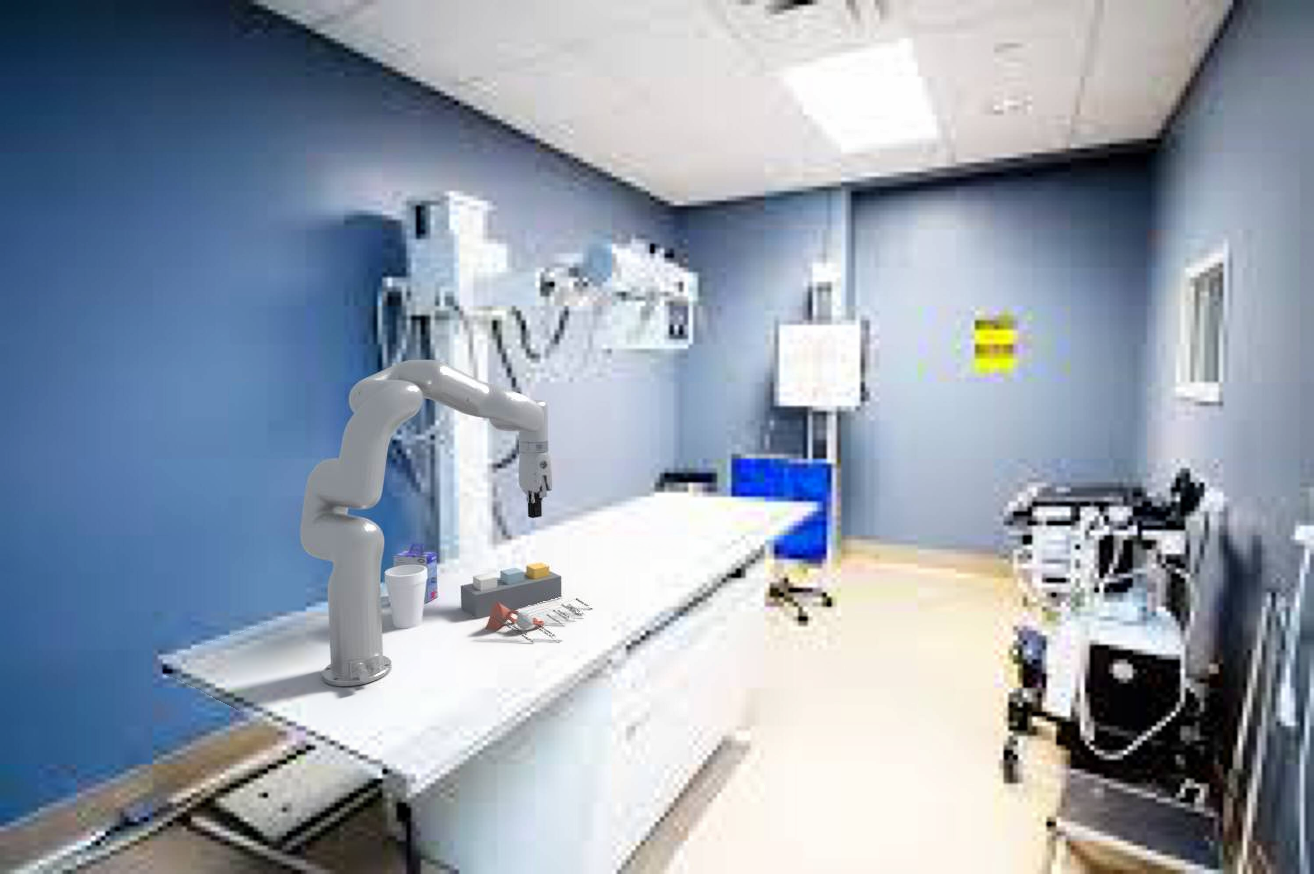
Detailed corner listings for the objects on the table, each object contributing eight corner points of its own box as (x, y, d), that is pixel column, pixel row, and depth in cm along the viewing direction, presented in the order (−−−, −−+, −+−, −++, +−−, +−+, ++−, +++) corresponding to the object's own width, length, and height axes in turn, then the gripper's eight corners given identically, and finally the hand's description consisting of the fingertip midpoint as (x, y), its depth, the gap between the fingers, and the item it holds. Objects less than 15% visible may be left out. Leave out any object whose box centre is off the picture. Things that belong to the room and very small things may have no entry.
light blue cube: (524, 586, 175) (523, 571, 174) (508, 590, 172) (508, 574, 171) (515, 582, 178) (515, 567, 178) (500, 585, 175) (500, 570, 175)
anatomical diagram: (486, 605, 153) (544, 570, 176) (475, 637, 155) (533, 598, 178) (560, 652, 147) (610, 610, 170) (547, 685, 150) (598, 638, 173)
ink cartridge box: (439, 596, 180) (437, 543, 179) (428, 603, 175) (426, 548, 173) (405, 593, 182) (403, 541, 181) (393, 600, 177) (391, 546, 175)
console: (561, 598, 179) (561, 576, 179) (476, 618, 164) (476, 595, 164) (544, 589, 186) (544, 568, 186) (461, 608, 171) (460, 585, 171)
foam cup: (384, 632, 155) (382, 577, 154) (388, 618, 164) (386, 566, 163) (427, 628, 158) (426, 574, 157) (429, 614, 167) (428, 563, 165)
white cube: (497, 592, 170) (497, 577, 169) (480, 596, 167) (480, 580, 167) (489, 588, 173) (489, 572, 173) (473, 591, 170) (472, 576, 170)
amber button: (549, 580, 179) (549, 566, 179) (534, 584, 177) (534, 569, 176) (540, 576, 183) (540, 562, 182) (526, 580, 180) (526, 565, 179)
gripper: (561, 449, 173) (562, 519, 175) (531, 444, 184) (533, 510, 186) (535, 452, 168) (536, 524, 170) (506, 446, 179) (508, 514, 181)
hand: (534, 516), depth 178 cm, fingers closed
